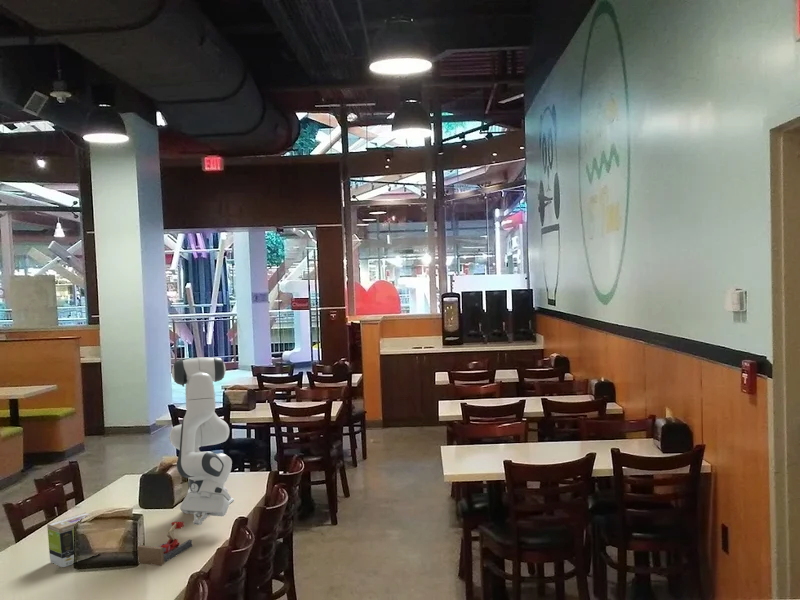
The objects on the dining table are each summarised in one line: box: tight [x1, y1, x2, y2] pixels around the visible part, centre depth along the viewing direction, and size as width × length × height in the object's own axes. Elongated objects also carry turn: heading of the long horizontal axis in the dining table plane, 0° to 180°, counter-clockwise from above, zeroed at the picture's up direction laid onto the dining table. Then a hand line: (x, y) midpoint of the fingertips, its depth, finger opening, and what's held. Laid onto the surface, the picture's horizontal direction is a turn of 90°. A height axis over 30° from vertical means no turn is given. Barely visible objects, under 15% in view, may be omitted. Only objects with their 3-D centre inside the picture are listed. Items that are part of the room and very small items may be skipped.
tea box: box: [46, 512, 92, 568], centre depth 267 cm, size 15×10×15 cm, turn 141°
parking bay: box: [137, 537, 193, 567], centre depth 266 cm, size 19×10×6 cm, turn 159°
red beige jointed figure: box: [160, 521, 185, 554], centre depth 269 cm, size 3×14×10 cm, turn 171°
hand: (196, 524), depth 284 cm, fingers closed
